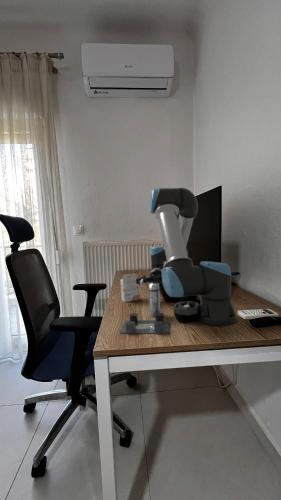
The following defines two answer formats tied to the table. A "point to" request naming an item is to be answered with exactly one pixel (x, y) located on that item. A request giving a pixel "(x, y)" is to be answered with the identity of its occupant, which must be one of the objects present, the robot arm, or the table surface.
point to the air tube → (154, 299)
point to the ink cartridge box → (129, 288)
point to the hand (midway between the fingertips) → (155, 284)
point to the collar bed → (145, 325)
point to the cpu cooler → (186, 311)
